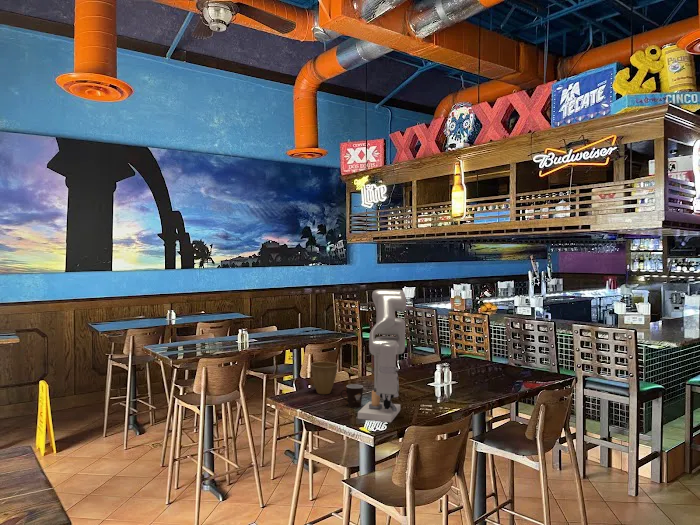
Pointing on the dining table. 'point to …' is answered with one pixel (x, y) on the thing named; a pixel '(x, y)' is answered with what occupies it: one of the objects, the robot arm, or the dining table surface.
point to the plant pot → (324, 376)
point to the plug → (375, 401)
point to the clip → (392, 406)
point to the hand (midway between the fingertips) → (387, 408)
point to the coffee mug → (354, 395)
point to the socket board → (378, 413)
